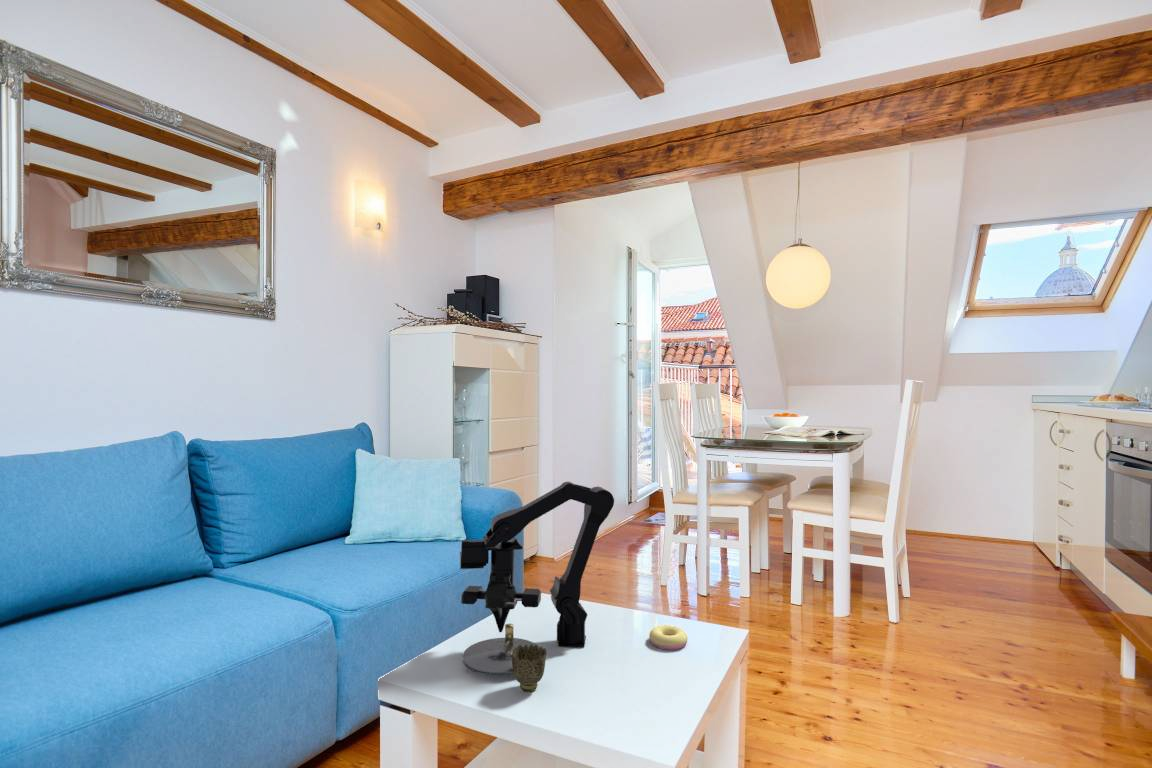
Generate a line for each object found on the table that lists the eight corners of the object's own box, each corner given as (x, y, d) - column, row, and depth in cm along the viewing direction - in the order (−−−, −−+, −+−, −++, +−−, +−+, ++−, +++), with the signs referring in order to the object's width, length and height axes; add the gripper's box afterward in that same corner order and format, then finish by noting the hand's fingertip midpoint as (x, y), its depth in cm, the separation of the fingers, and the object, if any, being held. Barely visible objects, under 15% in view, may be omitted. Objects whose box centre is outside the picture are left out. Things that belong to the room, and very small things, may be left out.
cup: (541, 699, 121) (541, 659, 121) (506, 696, 123) (506, 656, 123) (550, 682, 129) (550, 644, 129) (517, 679, 130) (517, 642, 130)
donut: (653, 659, 145) (691, 654, 145) (651, 642, 145) (689, 637, 145) (648, 637, 155) (684, 632, 155) (646, 620, 155) (682, 615, 155)
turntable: (546, 642, 146) (546, 624, 146) (534, 676, 128) (535, 655, 129) (474, 639, 148) (474, 621, 148) (452, 672, 130) (453, 652, 130)
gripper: (455, 575, 139) (454, 643, 139) (535, 578, 138) (533, 647, 137) (468, 562, 150) (466, 625, 150) (542, 565, 149) (540, 628, 149)
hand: (500, 631), depth 146 cm, fingers closed
